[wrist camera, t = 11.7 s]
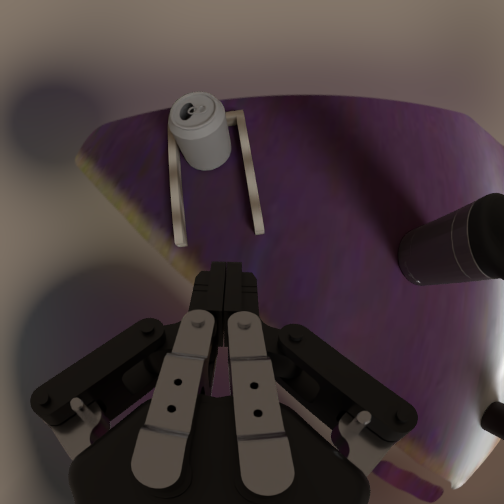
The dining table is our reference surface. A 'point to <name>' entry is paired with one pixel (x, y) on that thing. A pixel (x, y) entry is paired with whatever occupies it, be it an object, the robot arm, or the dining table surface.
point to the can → (200, 130)
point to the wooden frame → (176, 184)
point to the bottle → (494, 419)
